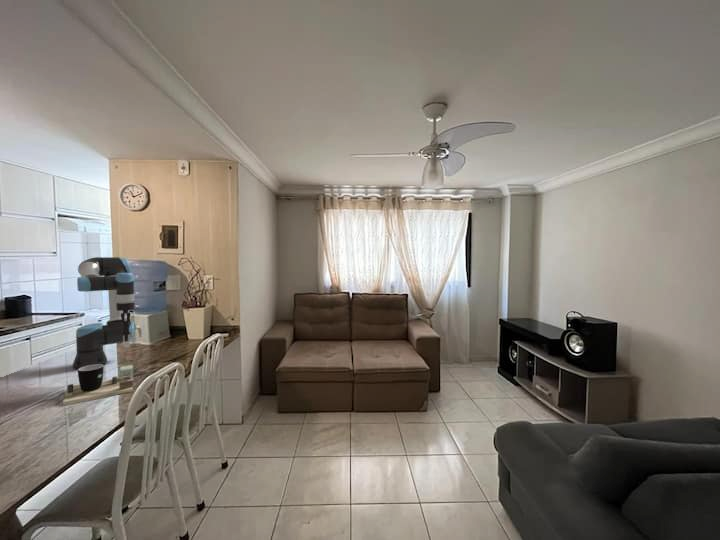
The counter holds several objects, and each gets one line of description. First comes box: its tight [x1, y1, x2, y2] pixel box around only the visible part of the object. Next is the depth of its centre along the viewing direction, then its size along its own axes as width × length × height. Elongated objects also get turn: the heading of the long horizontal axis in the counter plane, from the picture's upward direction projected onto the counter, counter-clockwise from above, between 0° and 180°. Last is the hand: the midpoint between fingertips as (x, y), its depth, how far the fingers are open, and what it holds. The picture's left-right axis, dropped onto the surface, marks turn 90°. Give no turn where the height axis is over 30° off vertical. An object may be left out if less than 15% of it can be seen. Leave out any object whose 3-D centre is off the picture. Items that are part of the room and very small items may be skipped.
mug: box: [77, 364, 104, 392], centre depth 146 cm, size 12×9×10 cm
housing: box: [119, 364, 134, 381], centre depth 158 cm, size 6×5×5 cm
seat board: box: [62, 375, 134, 406], centre depth 147 cm, size 20×24×4 cm
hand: (126, 346), depth 164 cm, fingers closed
